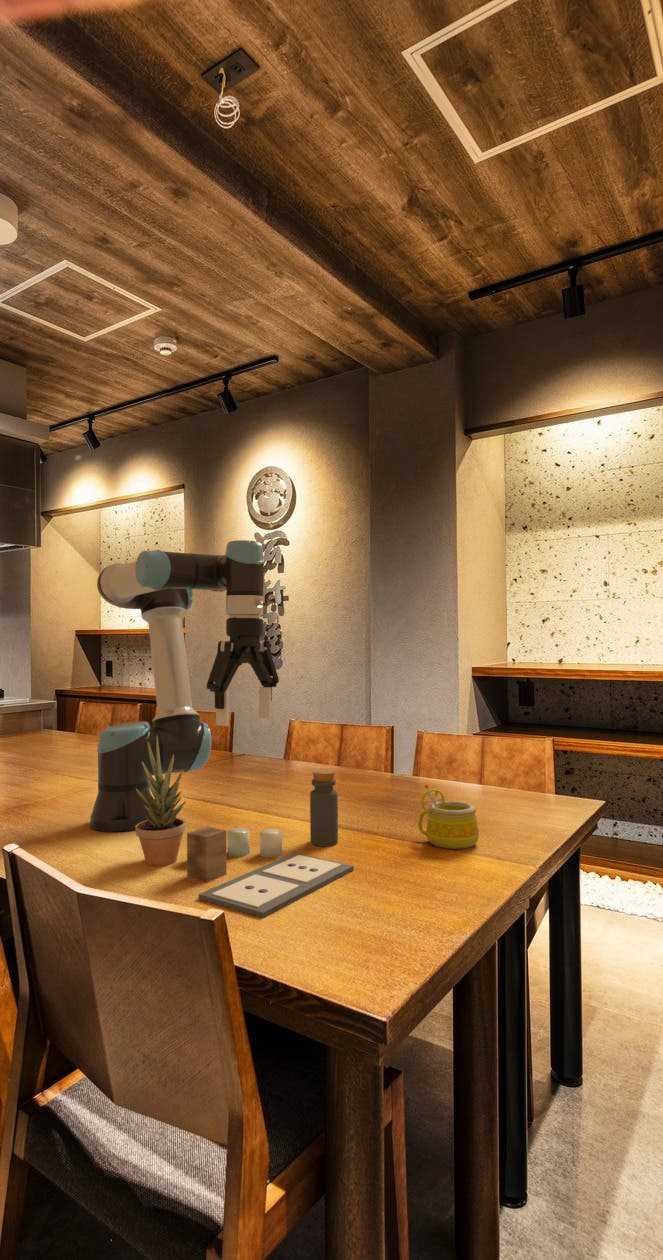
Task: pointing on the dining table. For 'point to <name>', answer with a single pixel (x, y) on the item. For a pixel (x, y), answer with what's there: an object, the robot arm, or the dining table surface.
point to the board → (276, 884)
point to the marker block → (206, 854)
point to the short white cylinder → (270, 843)
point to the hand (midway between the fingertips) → (244, 721)
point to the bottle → (324, 809)
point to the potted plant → (161, 816)
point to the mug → (449, 822)
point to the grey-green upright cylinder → (238, 842)
